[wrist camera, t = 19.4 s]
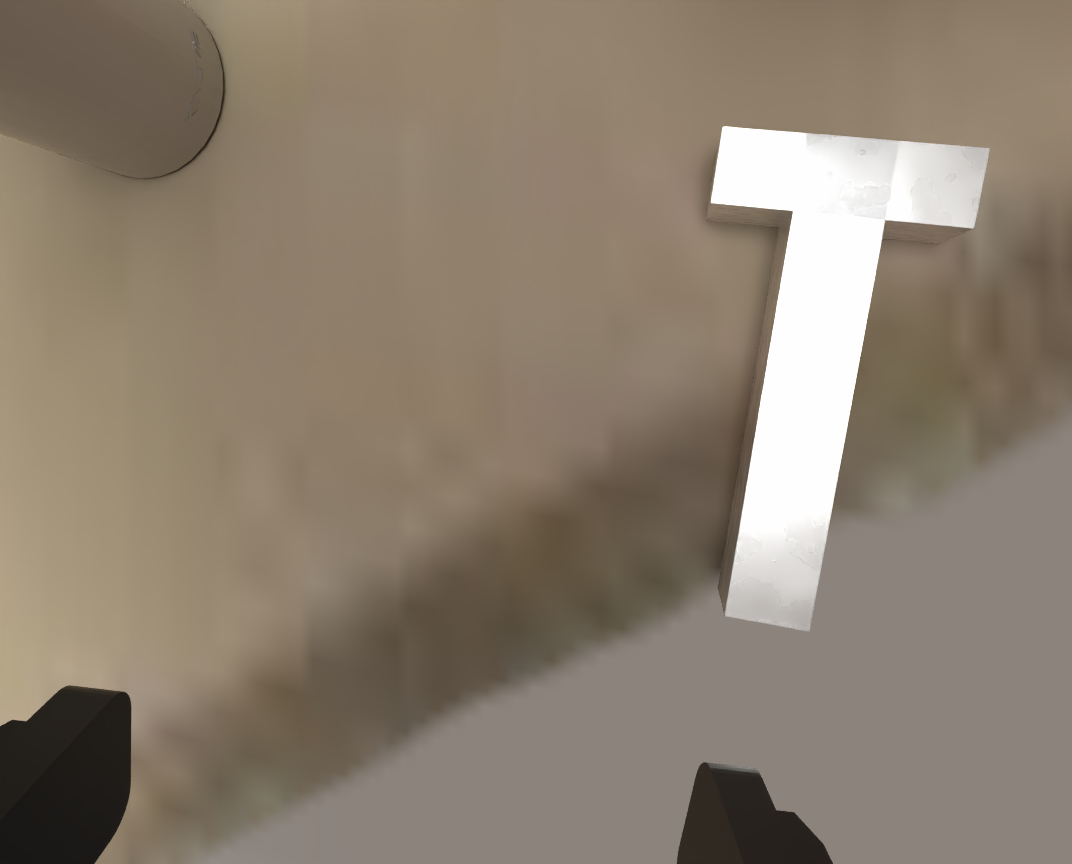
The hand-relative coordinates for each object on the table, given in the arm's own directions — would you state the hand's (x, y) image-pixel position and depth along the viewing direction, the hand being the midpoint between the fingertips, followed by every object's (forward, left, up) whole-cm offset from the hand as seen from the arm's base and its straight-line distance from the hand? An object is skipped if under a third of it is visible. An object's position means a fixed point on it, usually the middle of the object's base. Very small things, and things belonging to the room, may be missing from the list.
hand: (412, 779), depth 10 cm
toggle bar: (+9, +6, -26) cm, 28 cm away
